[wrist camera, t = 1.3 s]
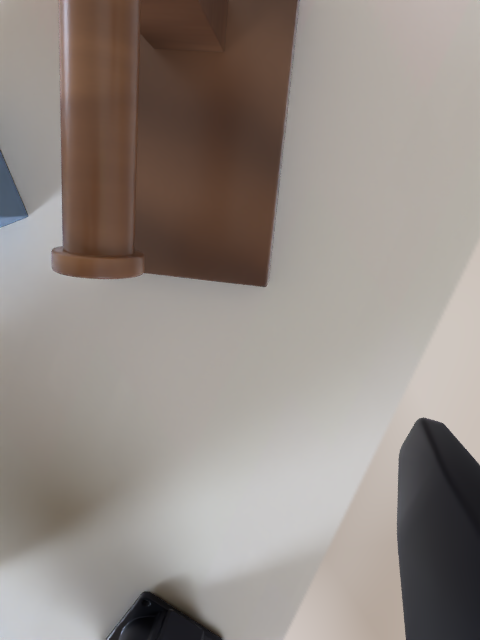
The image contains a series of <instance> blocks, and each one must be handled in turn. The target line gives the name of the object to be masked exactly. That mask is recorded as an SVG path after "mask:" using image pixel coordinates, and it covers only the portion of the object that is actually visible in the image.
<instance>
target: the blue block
mask: <svg viewBox="0 0 480 640" xmlns="http://www.w3.org/2000/svg"><path fill="white" fill-rule="evenodd" d="M26 217H28V214H27V212H26V210H25V207H24V205H23V203H22V200H21V198H20V196H19V193H18V191H17V189H16V186H15V184H14V181H13V179H12V177H11V174H10V172H9V170H8V167H7V165H6V163H5V160H4V158H3V156H2V153H1V151H0V227H3V226H6V225H8V224H11V223H13V222H16V221H18V220H21V219H23V218H26Z"/></svg>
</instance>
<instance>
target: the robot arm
mask: <svg viewBox="0 0 480 640" xmlns="http://www.w3.org/2000/svg"><path fill="white" fill-rule="evenodd" d="M397 541H398V555H399V566H400V577H401V587H402V599H403V610H404V622H405V633H406V640H480V465H479V464H478V463H477V461H476V460H475V459H474V458H473V457H472V456H471V455H470V453H469V452H468V451H467V450H466V449H465V448H464V447H463V445H462V444H461V443H460V442H459V441H458V440H457V438H456V437H455V436H454V435H453V434H452V433H451V432H450V430H449V429H448V428H447V427H446V426H445V425H444V424H443V423H440V422H438V421H434V420H431V419H427V418H420V419H418V420H417V421H416V423H415V424H414V426H413V428H412V429H411V431H410V433H409V434H408V436H407V438H406V440H405V441H404V443H403V445H402V447H401V450H400V454H399V471H398V508H397ZM106 640H222V639H221V638H220V637H218V636H217V635H215V634H214V633H212V632H211V631H209V630H208V629H206V628H204V627H203V626H201V625H200V624H198V623H197V622H195V621H194V620H192V619H191V618H189V617H188V616H186V615H184V614H183V613H181V612H180V611H178V610H177V609H175V608H174V607H172V606H171V605H169V604H168V603H166V602H165V601H163V600H161V599H160V598H158V597H157V596H155V595H154V594H152V593H150V592H143V593H142V594H141V595H140V596H139V598H138V599H137V600H136V601H135V603H134V604H133V605H132V607H131V608H130V609H129V610H128V612H127V613H126V614H125V616H124V617H123V618H122V619H121V621H120V622H119V623H118V624H117V626H116V627H115V628H114V630H113V631H112V632H111V633H110V635H109V636H108V637H107V638H106Z"/></svg>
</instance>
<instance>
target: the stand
mask: <svg viewBox="0 0 480 640" xmlns="http://www.w3.org/2000/svg"><path fill="white" fill-rule="evenodd" d="M299 2H300V0H59V49H60V108H61V168H62V228H63V246H61V247H57V248H54V249H52V251H51V254H52V269H53V271H55V272H57V273H60V274H63V275H67V276H72V277H80V278H90V279H123V278H132V277H137V276H140V275H142V274H143V273H148V274H157V275H165V276H174V277H182V278H191V279H200V280H208V281H217V282H226V283H234V284H243V285H252V286H260V287H266V286H267V284H268V282H269V275H270V266H271V256H272V247H273V238H274V229H275V220H276V211H277V202H278V193H279V184H280V175H281V166H282V157H283V147H284V138H285V129H286V120H287V111H288V102H289V93H290V84H291V75H292V66H293V57H294V47H295V38H296V29H297V20H298V11H299Z"/></svg>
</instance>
